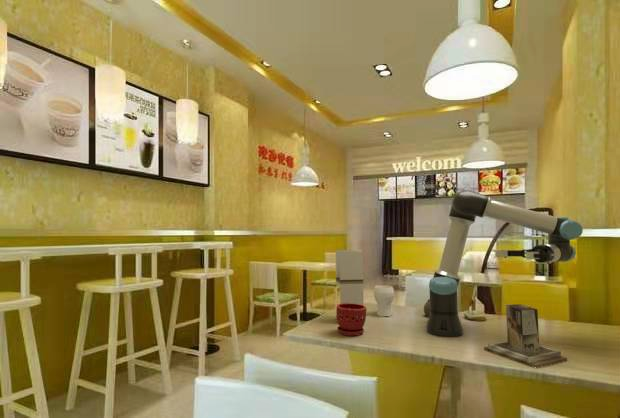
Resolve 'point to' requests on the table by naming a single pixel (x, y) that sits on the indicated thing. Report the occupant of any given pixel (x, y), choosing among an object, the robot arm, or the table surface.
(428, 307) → the vase
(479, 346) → the table surface
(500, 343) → the brown flat tray
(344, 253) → the white banded column
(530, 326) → the coffee box
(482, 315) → the decorated donut
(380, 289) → the cup
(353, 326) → the plant pot
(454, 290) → the robot arm
